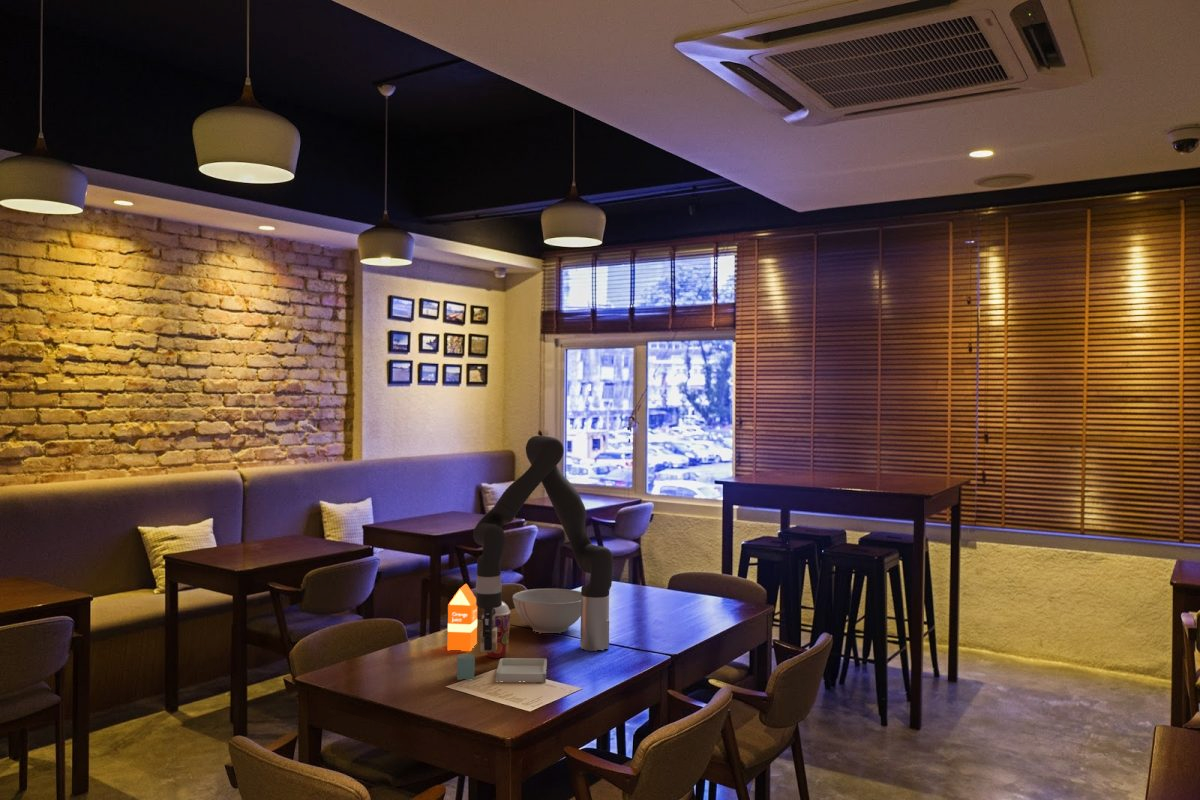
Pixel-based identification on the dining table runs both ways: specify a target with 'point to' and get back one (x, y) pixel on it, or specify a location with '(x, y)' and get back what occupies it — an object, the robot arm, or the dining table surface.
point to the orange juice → (462, 620)
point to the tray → (522, 670)
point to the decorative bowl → (548, 608)
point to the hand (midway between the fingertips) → (488, 647)
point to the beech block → (494, 640)
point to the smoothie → (501, 630)
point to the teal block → (465, 666)
